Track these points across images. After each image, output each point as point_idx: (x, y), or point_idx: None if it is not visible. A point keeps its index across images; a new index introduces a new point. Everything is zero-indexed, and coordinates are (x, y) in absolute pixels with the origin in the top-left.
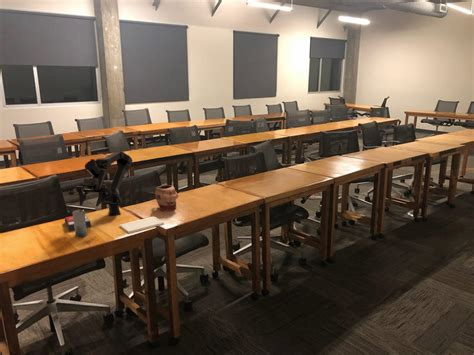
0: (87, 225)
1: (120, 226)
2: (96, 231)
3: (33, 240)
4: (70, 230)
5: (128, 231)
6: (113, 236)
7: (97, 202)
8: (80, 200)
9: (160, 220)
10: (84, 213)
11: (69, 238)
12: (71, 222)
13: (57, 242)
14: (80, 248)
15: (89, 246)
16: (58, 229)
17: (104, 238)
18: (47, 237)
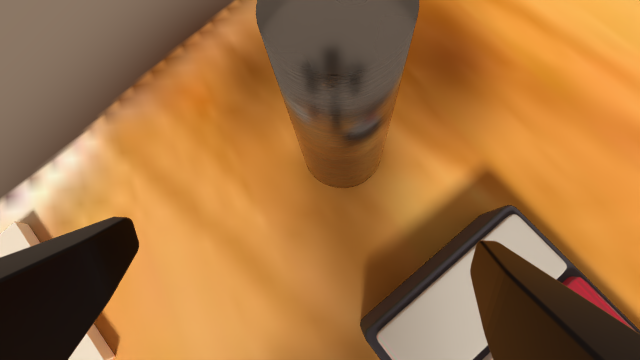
0: (381, 306)
1: (105, 346)
2: (269, 234)
3: (621, 45)
4: (480, 216)
5: (15, 223)
6: (120, 165)
7: (50, 246)
8: (557, 298)
9: None
10: (268, 54)
11: (398, 101)
12: None
13: (435, 43)
14: (255, 3)
15: (217, 28)
16: (612, 242)
17: (169, 130)
18: (566, 96)
